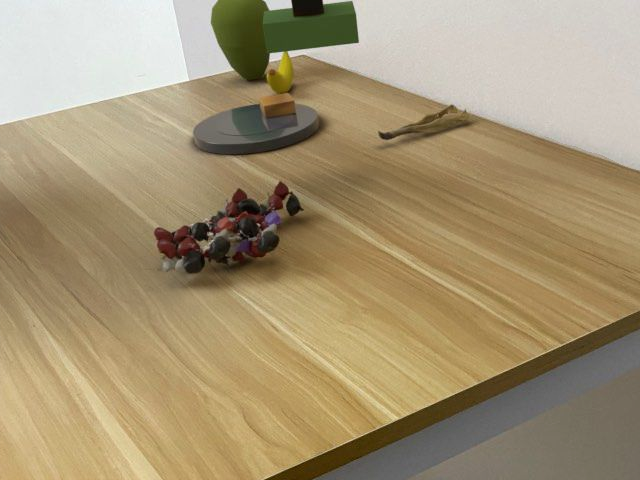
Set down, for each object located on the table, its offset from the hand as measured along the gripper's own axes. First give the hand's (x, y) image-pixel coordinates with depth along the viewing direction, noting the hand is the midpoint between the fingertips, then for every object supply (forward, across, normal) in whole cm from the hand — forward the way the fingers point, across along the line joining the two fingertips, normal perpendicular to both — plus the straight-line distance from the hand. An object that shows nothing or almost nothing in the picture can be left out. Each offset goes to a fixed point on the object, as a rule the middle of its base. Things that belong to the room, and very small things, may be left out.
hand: (307, 5), depth 79 cm
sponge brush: (+3, 0, 0) cm, 3 cm away
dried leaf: (+14, +10, -11) cm, 21 cm away
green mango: (+16, +45, +10) cm, 49 cm away
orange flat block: (+15, +22, +6) cm, 27 cm away
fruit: (+16, +36, +5) cm, 40 cm away
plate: (+16, +19, +9) cm, 26 cm away
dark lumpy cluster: (+17, -18, +10) cm, 26 cm away
